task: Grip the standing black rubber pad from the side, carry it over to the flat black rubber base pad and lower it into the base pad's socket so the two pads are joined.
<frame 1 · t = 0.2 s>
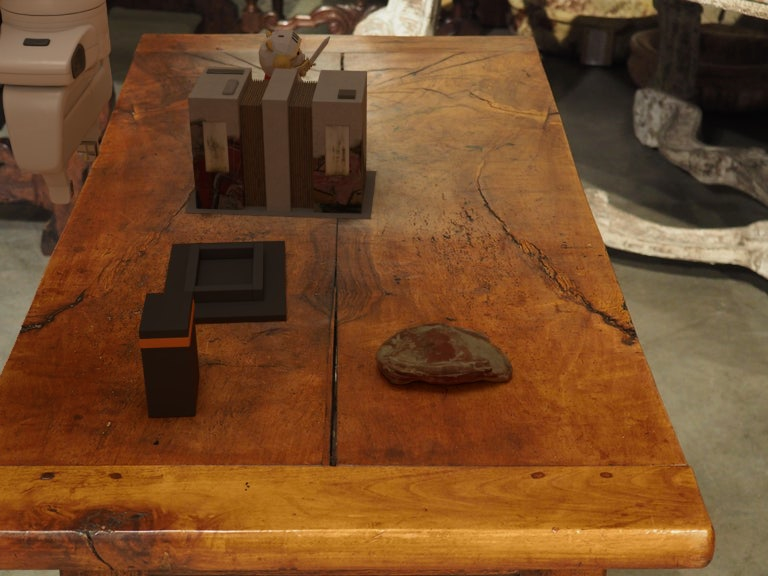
hand: (76, 179, 101), 21 cm above the table, tool pointing down, fingers open, 8 cm apart
figurine: (287, 123, 172), on the table
stone: (443, 367, 113), on the table
bookend: (284, 192, 150), on the table
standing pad: (174, 396, 107), on the table
base pad: (226, 282, 127), on the table
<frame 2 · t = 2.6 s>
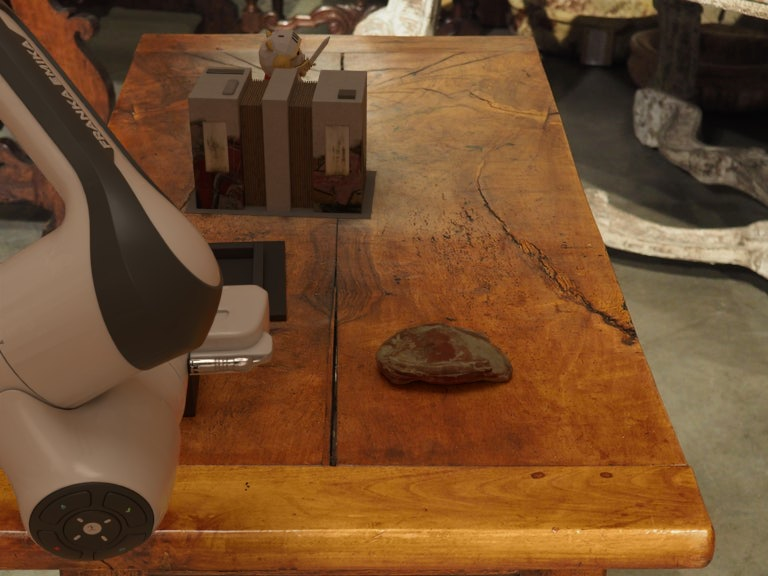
hand: (144, 278, 87), 20 cm above the table, tool horizontal, fingers open, 8 cm apart
nothing on the table moved.
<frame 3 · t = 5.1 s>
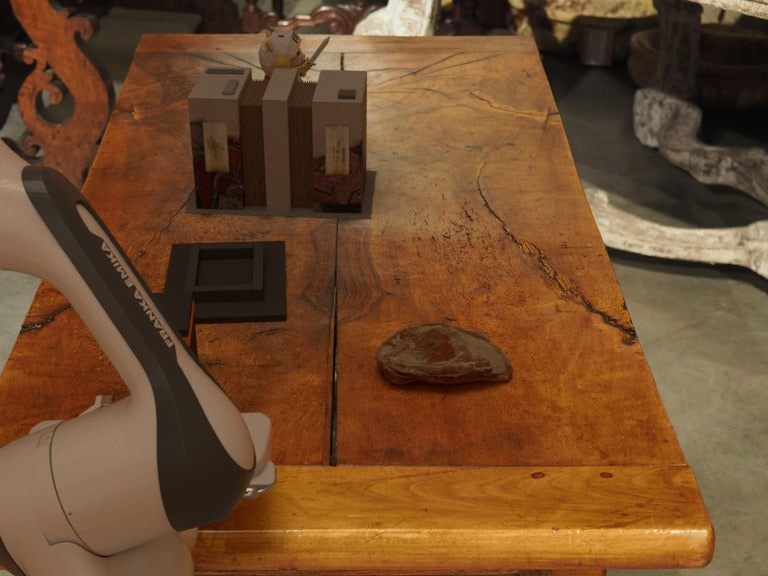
hand: (160, 399, 96), 6 cm above the table, tool horizontal, fingers open, 8 cm apart
nothing on the table moved.
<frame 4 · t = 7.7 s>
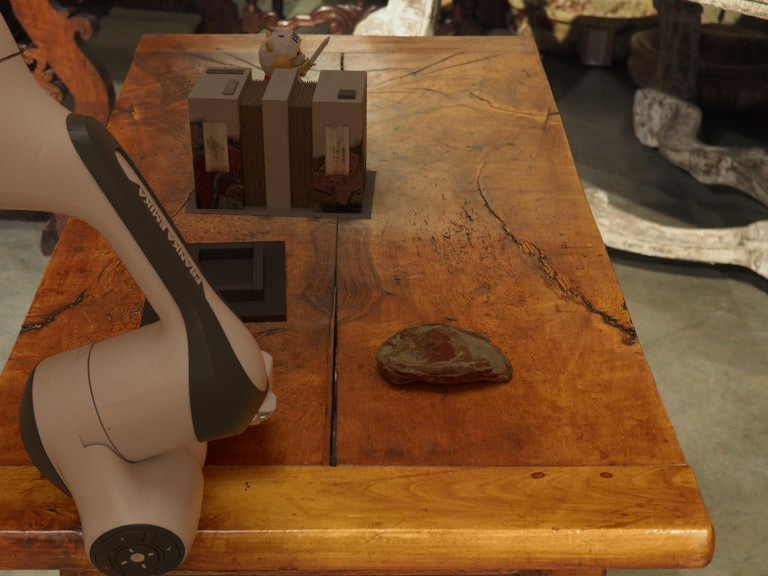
hand: (170, 340, 105), 6 cm above the table, tool horizontal, fingers closed on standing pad, 4 cm apart
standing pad: (175, 396, 107), on the table, touching gripper
everything else where it was.
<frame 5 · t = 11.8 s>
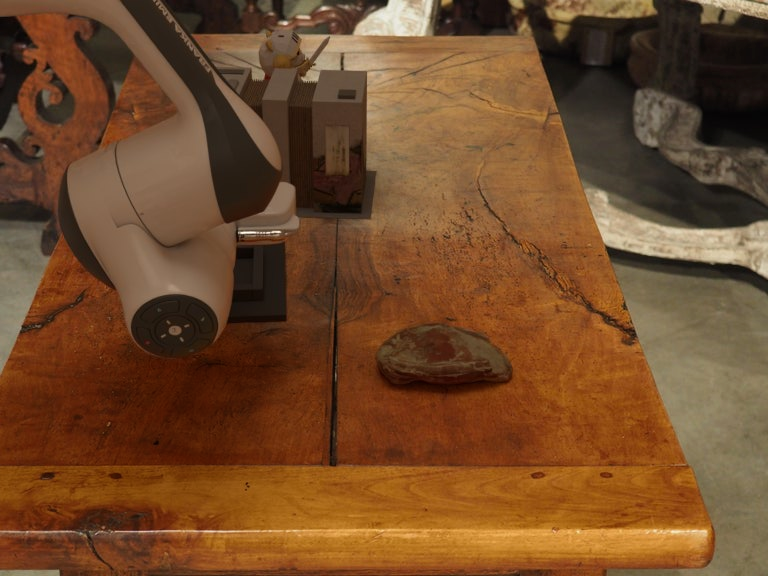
hand: (198, 179, 112), 17 cm above the table, tool horizontal, fingers closed on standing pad, 4 cm apart
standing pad: (202, 234, 114), point 11 cm above the table, touching gripper
everything else where it was.
when the fingers open (7 cm above the table, at t = 16.1 s): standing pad stays where it is, resting on base pad.
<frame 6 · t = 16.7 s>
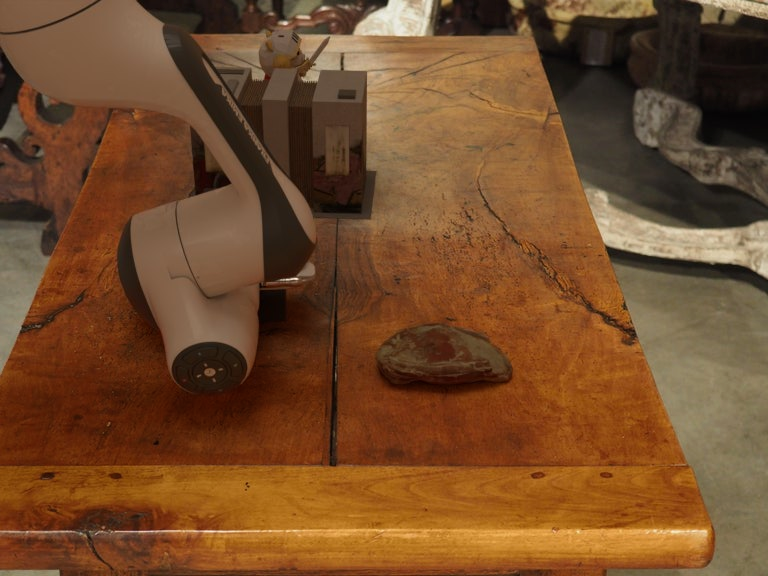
hand: (222, 227, 124), 7 cm above the table, tool horizontal, fingers open, 8 cm apart
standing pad: (227, 277, 126), point 1 cm above the table, touching base pad
everything else where it was.
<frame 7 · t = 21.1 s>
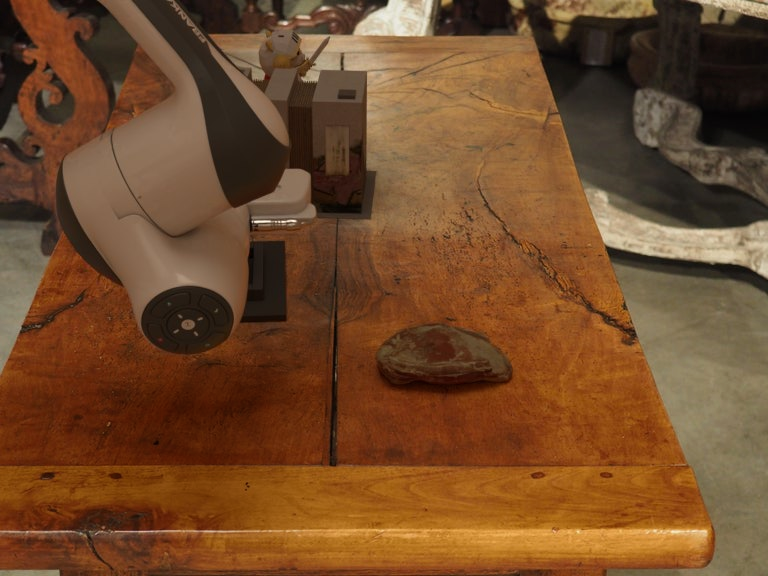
hand: (207, 165, 106), 20 cm above the table, tool horizontal, fingers open, 8 cm apart
nothing on the table moved.
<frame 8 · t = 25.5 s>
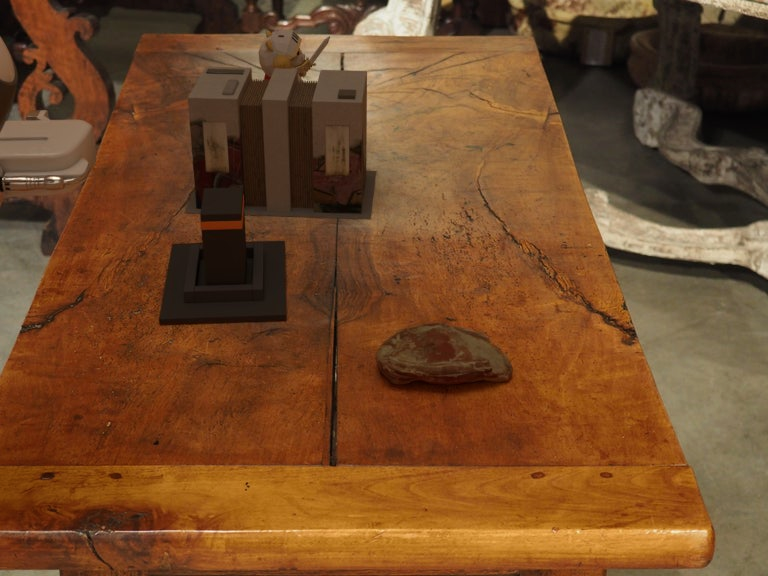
nothing on the table moved.
at the end: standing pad 0.2 cm off-centre on the base pad, point 0.8 cm above the base pad's base; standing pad tilted 0°; the gripper is holding nothing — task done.
